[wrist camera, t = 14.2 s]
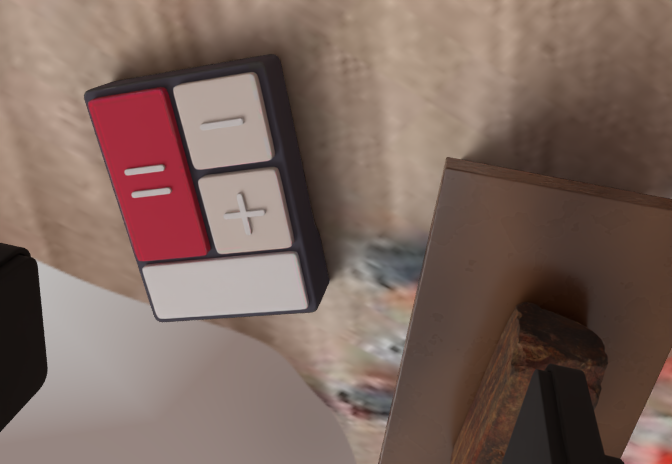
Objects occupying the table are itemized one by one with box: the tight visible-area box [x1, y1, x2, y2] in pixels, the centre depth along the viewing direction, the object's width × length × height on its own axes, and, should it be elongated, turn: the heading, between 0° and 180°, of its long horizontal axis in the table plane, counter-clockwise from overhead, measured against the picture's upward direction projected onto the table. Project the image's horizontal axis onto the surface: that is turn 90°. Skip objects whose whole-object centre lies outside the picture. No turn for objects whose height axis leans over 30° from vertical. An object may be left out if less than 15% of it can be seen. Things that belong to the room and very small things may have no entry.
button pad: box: [84, 54, 329, 322], centre depth 38 cm, size 11×4×15 cm
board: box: [378, 157, 672, 464], centre depth 33 cm, size 12×22×2 cm, turn 172°
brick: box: [450, 302, 608, 464], centre depth 30 cm, size 11×4×5 cm, turn 167°
